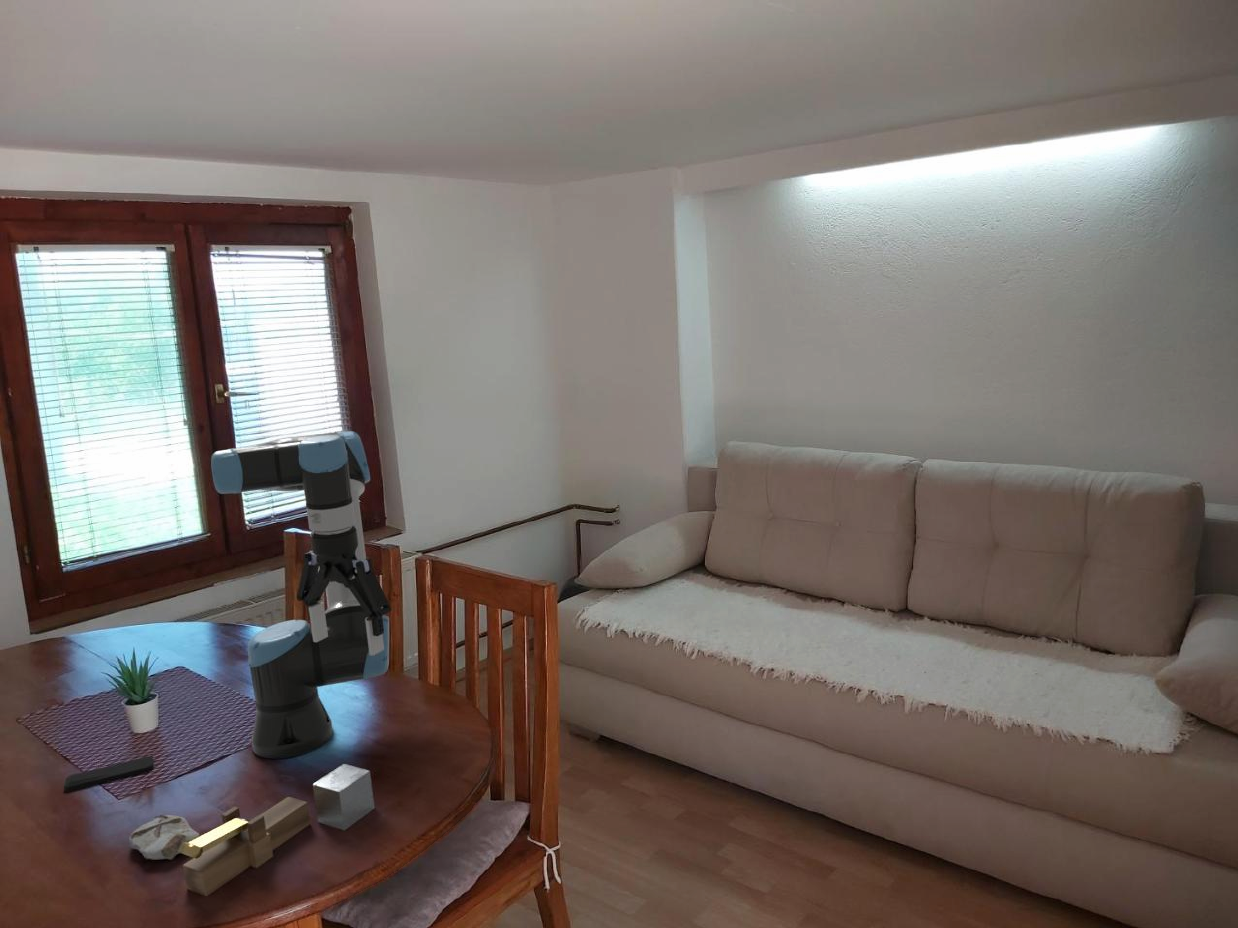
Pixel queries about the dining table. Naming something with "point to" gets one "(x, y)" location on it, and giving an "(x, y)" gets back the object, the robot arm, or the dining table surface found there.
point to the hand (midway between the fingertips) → (348, 645)
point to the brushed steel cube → (343, 796)
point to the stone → (162, 837)
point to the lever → (213, 837)
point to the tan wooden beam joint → (246, 845)
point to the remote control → (108, 773)
